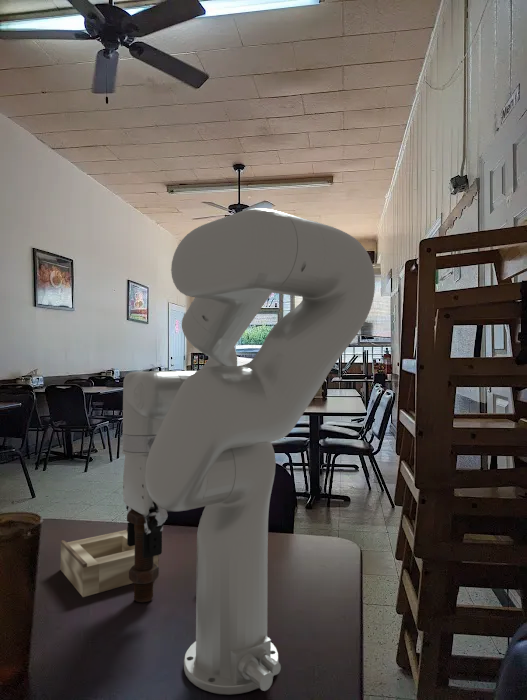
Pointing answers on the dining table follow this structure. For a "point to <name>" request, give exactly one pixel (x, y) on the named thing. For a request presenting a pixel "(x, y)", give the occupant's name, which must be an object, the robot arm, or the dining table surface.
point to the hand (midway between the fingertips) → (144, 548)
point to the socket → (98, 562)
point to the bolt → (141, 561)
